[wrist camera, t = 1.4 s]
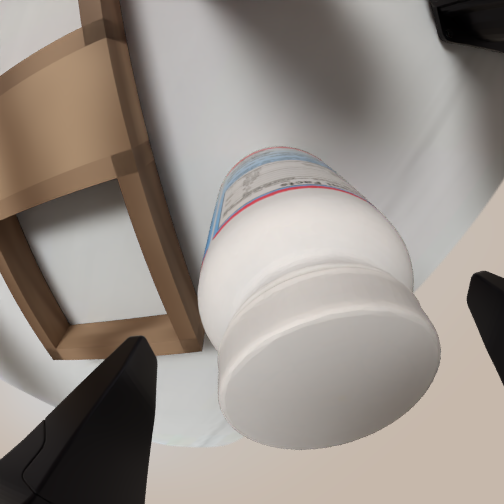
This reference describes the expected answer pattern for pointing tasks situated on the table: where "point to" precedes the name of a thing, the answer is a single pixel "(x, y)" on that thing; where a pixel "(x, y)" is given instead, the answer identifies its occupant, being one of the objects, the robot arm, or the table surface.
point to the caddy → (87, 181)
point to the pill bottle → (310, 306)
